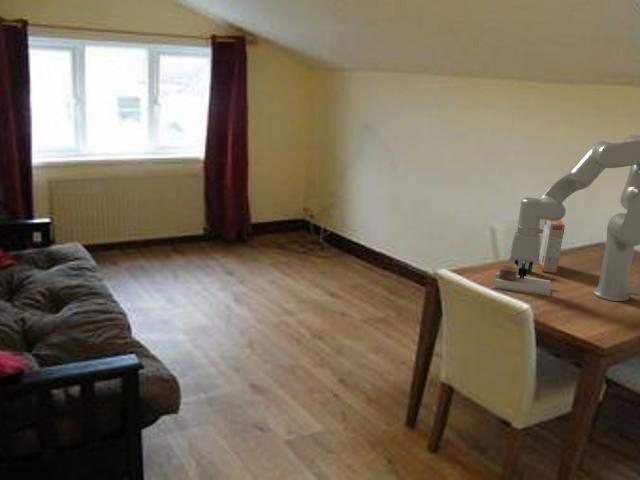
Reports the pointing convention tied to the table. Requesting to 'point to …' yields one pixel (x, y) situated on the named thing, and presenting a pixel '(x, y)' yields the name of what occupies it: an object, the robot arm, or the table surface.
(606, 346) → the table surface
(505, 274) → the walnut block
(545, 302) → the table surface
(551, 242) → the cracker box
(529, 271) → the soda can
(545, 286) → the chute
